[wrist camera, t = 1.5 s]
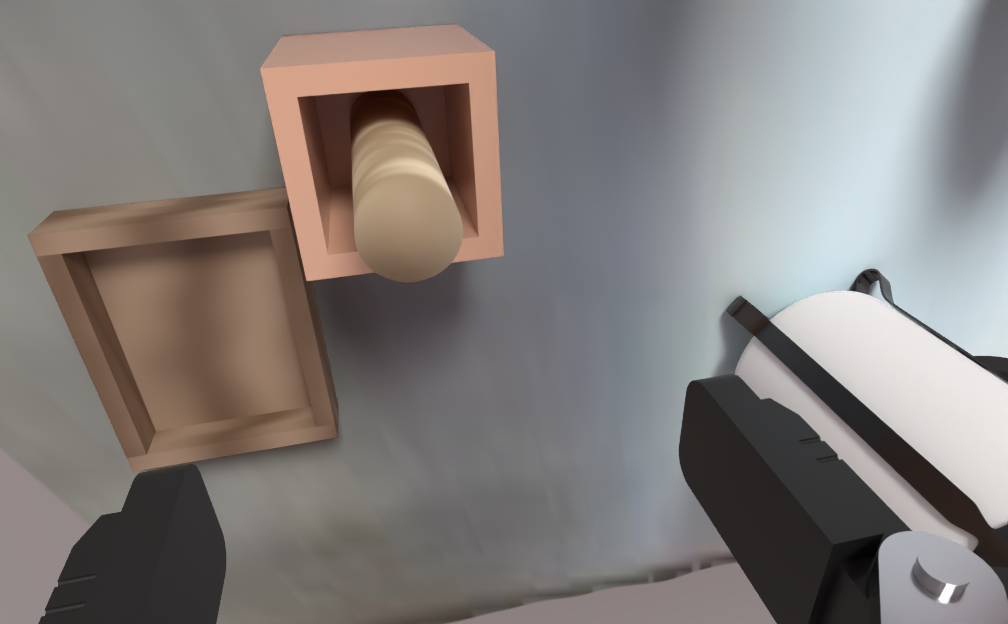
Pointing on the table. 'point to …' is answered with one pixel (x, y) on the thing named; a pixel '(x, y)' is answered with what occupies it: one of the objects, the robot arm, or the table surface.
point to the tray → (193, 323)
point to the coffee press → (893, 407)
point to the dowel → (399, 192)
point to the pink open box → (327, 139)
